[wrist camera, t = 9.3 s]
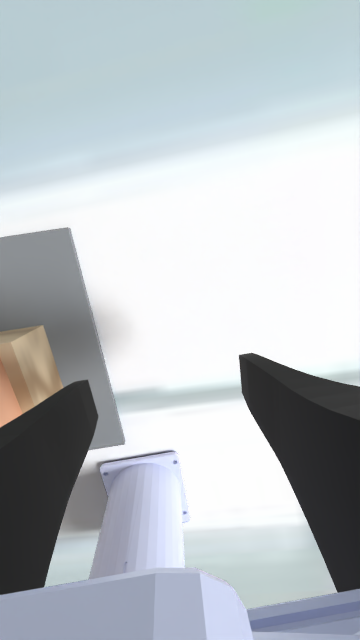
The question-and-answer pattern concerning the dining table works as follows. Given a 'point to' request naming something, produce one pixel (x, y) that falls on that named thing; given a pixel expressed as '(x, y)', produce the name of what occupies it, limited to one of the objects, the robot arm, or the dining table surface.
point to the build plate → (58, 316)
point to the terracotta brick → (7, 399)
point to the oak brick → (29, 365)
